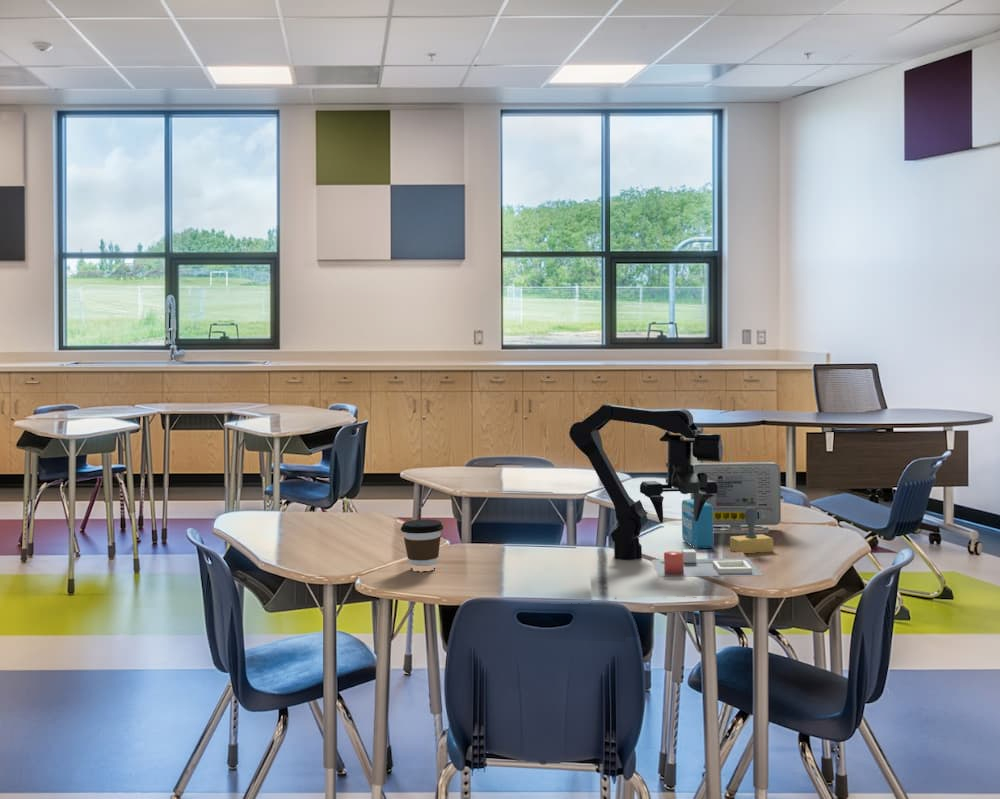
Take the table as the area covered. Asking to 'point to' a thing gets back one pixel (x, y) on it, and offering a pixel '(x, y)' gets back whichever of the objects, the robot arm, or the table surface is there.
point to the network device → (743, 493)
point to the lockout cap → (673, 563)
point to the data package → (697, 525)
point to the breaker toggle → (689, 556)
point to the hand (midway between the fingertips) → (678, 521)
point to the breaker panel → (712, 568)
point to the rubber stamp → (751, 537)
